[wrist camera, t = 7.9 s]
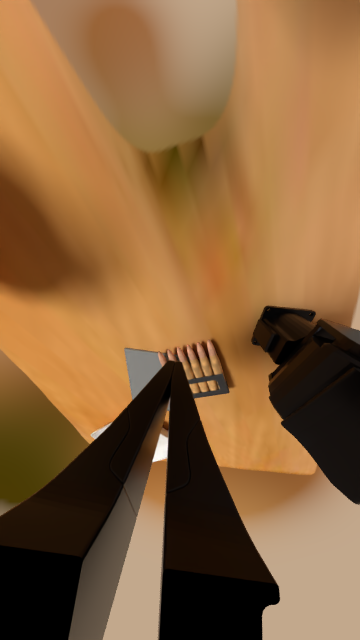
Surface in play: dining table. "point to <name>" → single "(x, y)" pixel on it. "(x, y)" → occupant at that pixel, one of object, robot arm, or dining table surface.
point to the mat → (143, 368)
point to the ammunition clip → (201, 371)
